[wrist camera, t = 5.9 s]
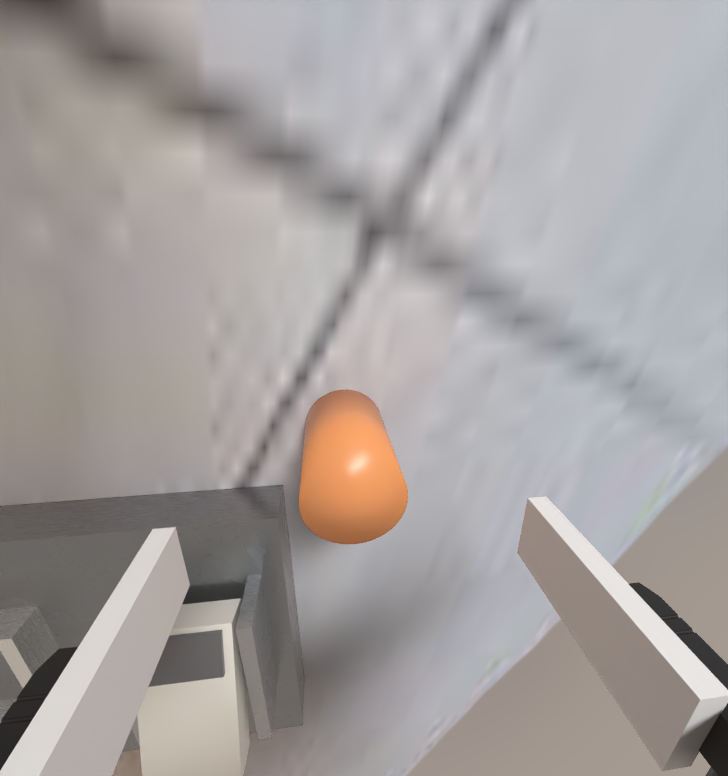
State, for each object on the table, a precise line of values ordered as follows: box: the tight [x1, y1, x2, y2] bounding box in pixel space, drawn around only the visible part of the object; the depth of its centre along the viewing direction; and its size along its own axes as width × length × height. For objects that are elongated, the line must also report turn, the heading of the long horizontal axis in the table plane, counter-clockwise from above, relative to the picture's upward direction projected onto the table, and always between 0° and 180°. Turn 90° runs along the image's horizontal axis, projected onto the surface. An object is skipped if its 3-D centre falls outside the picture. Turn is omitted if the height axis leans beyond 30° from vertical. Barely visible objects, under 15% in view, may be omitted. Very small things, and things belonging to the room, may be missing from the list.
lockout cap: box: [299, 390, 408, 544], centre depth 18 cm, size 5×5×7 cm
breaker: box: [137, 598, 250, 776], centre depth 19 cm, size 9×5×2 cm, turn 0°
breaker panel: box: [0, 485, 304, 752], centre depth 22 cm, size 20×24×6 cm
